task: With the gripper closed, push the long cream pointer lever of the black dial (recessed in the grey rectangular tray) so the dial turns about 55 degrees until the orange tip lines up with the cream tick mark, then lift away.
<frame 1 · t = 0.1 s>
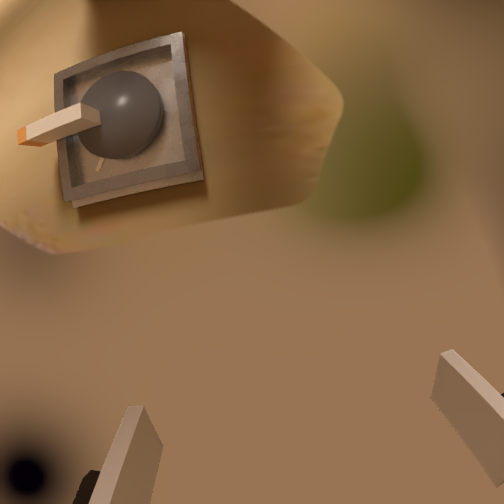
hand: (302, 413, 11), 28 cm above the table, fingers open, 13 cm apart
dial: (88, 118, 29), point 5 cm above the table, hinge at 0.0°
grey rectangular tray: (124, 117, 33), on the table
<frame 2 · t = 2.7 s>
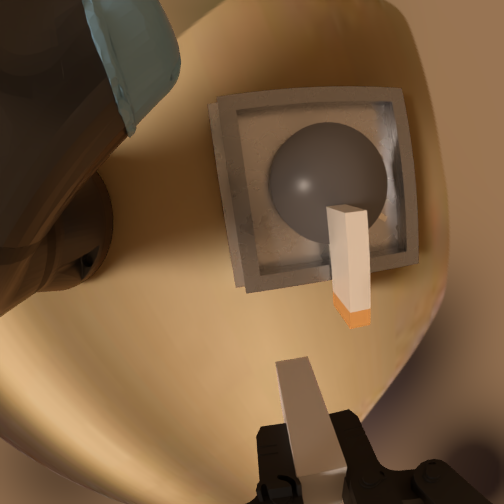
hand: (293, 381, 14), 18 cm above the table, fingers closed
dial: (341, 218, 25), point 5 cm above the table, hinge at 0.0°
grey rectangular tray: (323, 182, 29), on the table
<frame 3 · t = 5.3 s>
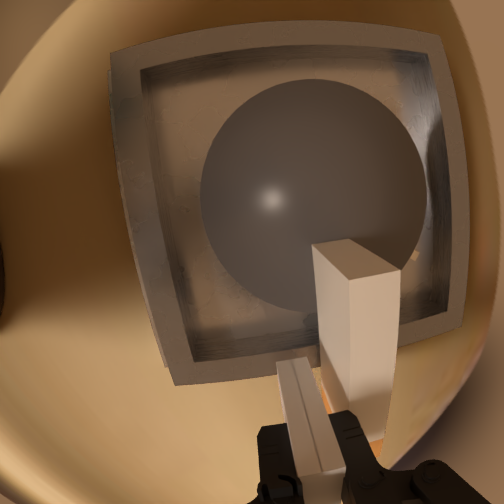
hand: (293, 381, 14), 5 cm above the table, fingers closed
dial: (340, 270, 13), point 5 cm above the table, hinge at 0.1°, touching gripper
grey rectangular tray: (309, 193, 16), on the table
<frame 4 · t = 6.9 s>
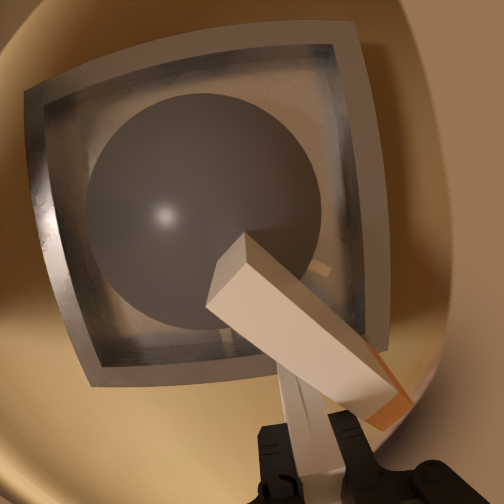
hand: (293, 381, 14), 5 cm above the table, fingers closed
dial: (248, 269, 12), point 5 cm above the table, hinge at 39.1°, touching gripper
grey rectangular tray: (205, 208, 16), on the table
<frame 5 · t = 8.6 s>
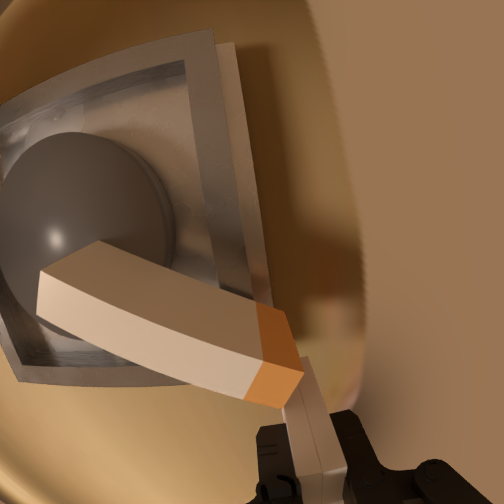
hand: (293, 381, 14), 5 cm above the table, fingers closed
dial: (101, 272, 12), point 5 cm above the table, hinge at 59.5°
grey rectangular tray: (91, 230, 16), on the table
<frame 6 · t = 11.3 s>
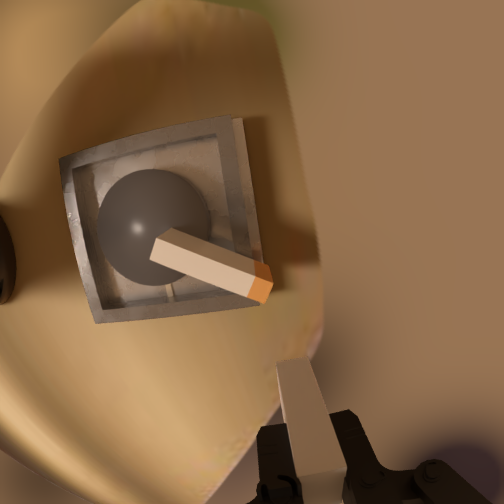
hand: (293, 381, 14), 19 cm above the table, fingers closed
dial: (175, 243, 26), point 5 cm above the table, hinge at 59.5°
grey rectangular tray: (158, 223, 30), on the table
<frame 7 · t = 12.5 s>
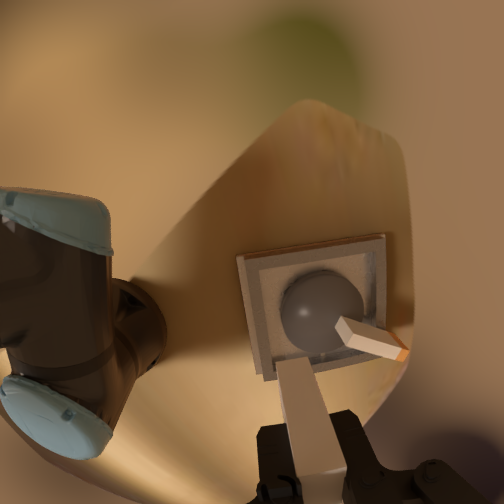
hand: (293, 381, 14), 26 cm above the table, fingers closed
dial: (346, 328, 37), point 5 cm above the table, hinge at 59.5°
grey rectangular tray: (318, 306, 41), on the table
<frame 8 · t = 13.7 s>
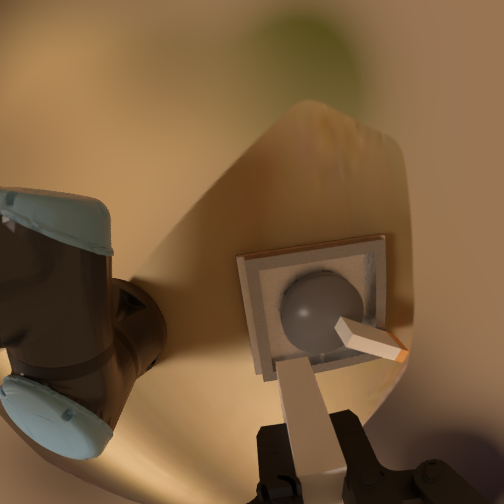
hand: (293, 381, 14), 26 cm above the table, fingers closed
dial: (346, 328, 37), point 5 cm above the table, hinge at 59.5°
grey rectangular tray: (318, 307, 41), on the table
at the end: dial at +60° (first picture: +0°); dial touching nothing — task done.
